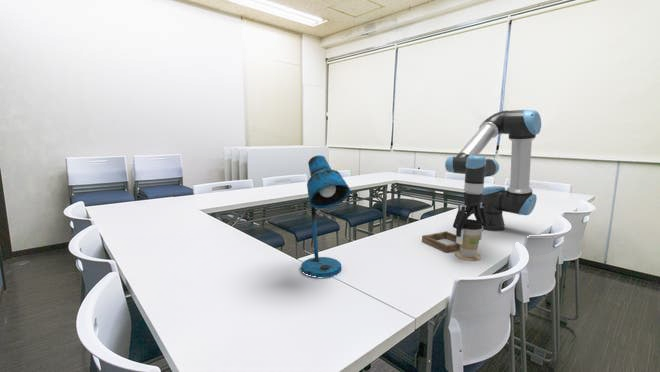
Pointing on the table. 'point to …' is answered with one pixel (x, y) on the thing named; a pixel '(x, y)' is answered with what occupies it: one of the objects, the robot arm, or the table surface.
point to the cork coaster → (468, 257)
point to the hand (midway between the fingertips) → (469, 241)
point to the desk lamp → (323, 193)
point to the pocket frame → (432, 241)
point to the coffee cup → (470, 238)
